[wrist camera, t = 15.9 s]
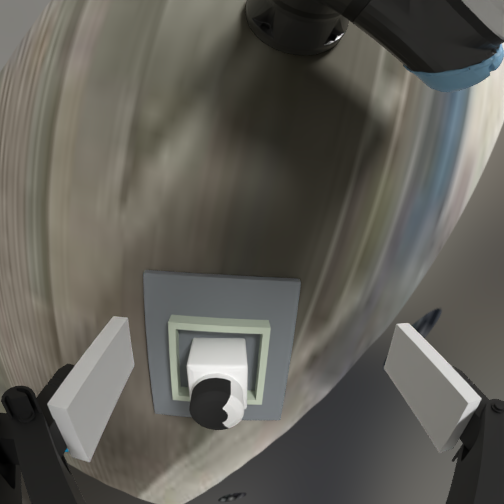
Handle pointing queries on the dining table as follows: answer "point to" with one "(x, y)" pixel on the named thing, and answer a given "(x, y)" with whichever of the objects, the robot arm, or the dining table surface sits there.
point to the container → (217, 381)
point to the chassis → (219, 333)
